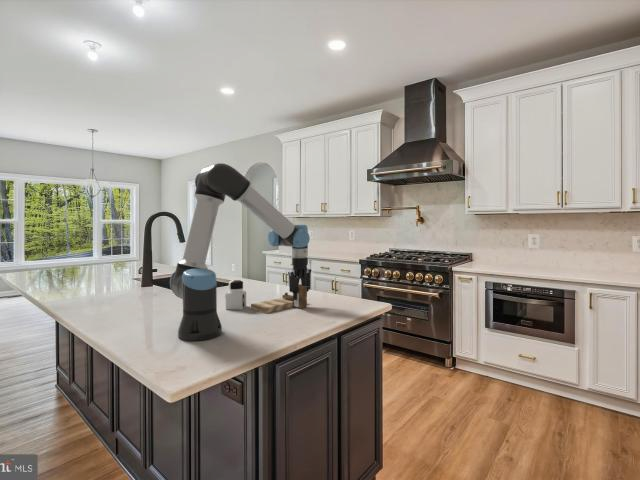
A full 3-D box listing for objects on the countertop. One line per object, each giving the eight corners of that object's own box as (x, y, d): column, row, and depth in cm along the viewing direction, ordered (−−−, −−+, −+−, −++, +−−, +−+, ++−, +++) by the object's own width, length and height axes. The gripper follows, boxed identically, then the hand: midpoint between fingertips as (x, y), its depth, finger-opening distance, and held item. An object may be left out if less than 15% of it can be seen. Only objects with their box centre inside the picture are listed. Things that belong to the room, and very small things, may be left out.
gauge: (300, 308, 170) (300, 285, 169) (281, 304, 178) (281, 282, 178) (306, 306, 173) (306, 284, 172) (287, 302, 181) (287, 281, 181)
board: (265, 313, 161) (265, 308, 161) (250, 309, 169) (250, 304, 169) (306, 303, 180) (306, 298, 180) (291, 300, 188) (291, 295, 187)
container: (246, 306, 175) (246, 279, 174) (241, 310, 167) (241, 282, 167) (231, 305, 176) (230, 279, 175) (225, 309, 168) (225, 281, 167)
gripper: (291, 259, 163) (292, 310, 164) (318, 256, 175) (318, 303, 176) (281, 257, 168) (281, 307, 169) (307, 255, 180) (307, 301, 181)
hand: (300, 305), depth 173 cm, fingers closed on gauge, 4 cm apart
